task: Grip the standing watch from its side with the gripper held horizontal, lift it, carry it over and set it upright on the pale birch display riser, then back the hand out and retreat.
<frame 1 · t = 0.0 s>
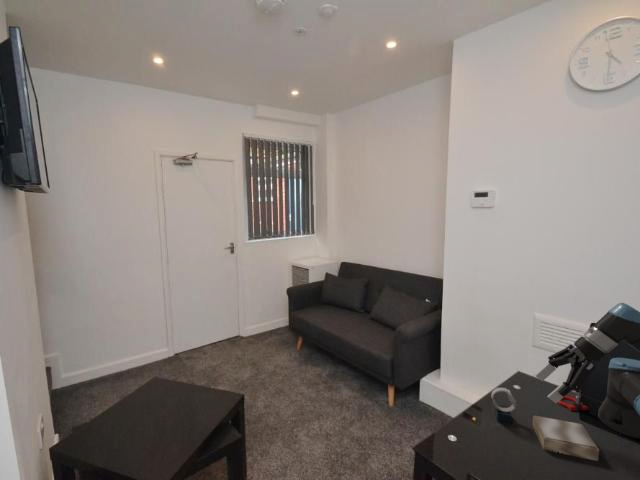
hand: (544, 388, 108), 15 cm above the table, tool tilted 35°, fingers open, 13 cm apart
display riser: (562, 441, 104), on the table
watch: (502, 418, 116), on the table
tow hook: (569, 404, 125), on the table
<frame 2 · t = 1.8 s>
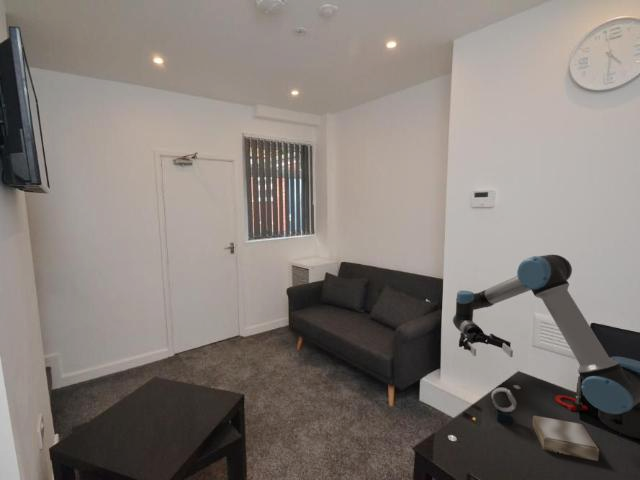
hand: (493, 353, 124), 20 cm above the table, tool horizontal, fingers open, 13 cm apart
nothing on the table moved.
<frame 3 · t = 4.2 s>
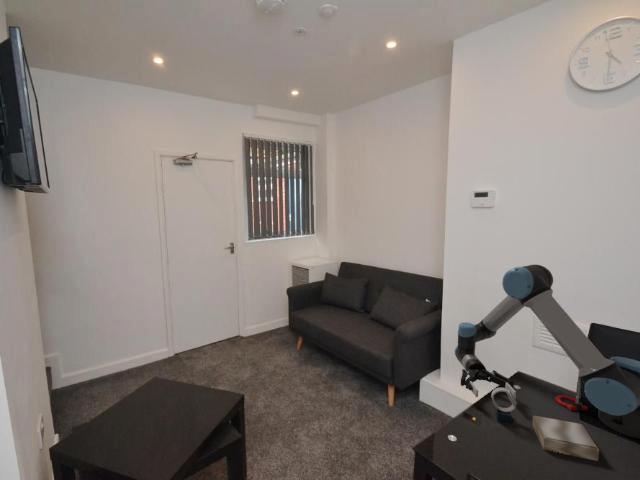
hand: (495, 394, 121), 6 cm above the table, tool horizontal, fingers open, 13 cm apart
nothing on the table moved.
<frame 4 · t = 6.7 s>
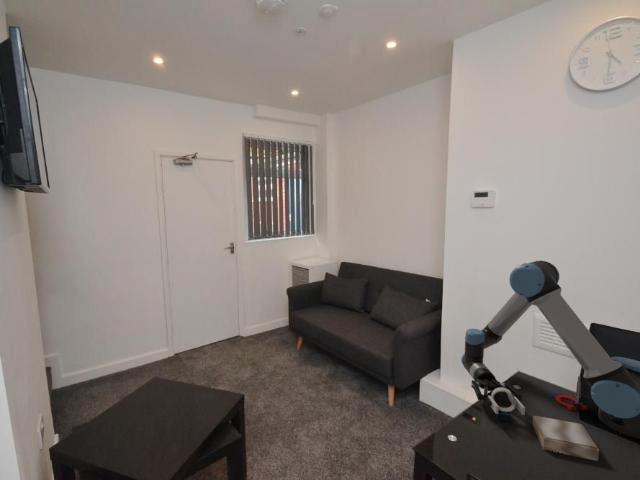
hand: (510, 410, 111), 6 cm above the table, tool horizontal, fingers closed on watch, 8 cm apart
watch: (502, 418, 116), on the table, touching gripper
everything else where it was.
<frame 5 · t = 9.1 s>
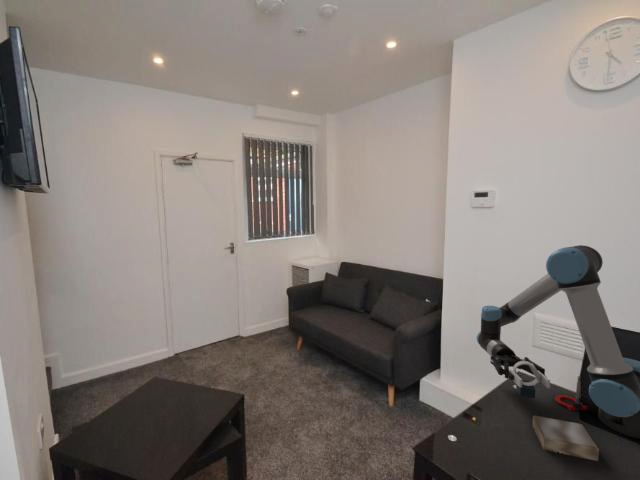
hand: (534, 383, 106), 18 cm above the table, tool horizontal, fingers closed on watch, 8 cm apart
watch: (525, 393, 111), point 12 cm above the table, touching gripper
everything else where it was.
when the fingers open (11 cm above the table, at t = 11.8 s): watch drops 1 cm, resting on display riser.
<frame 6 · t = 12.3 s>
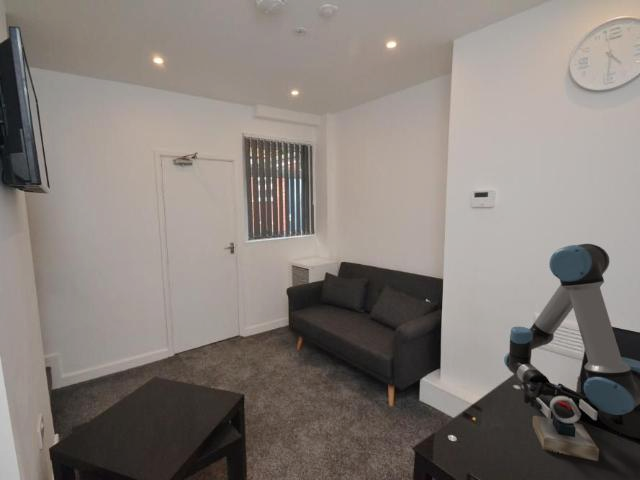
hand: (572, 415, 100), 12 cm above the table, tool horizontal, fingers open, 13 cm apart
watch: (563, 430, 104), point 4 cm above the table, touching display riser
everything else where it was.
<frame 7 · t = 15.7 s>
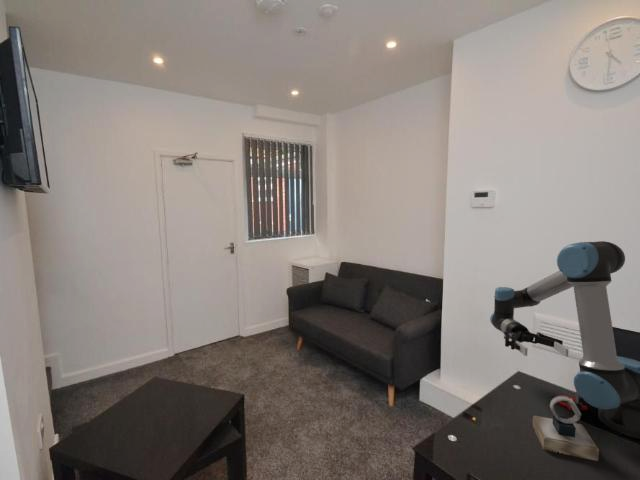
hand: (546, 352, 112), 25 cm above the table, tool horizontal, fingers open, 13 cm apart
nothing on the table moved.
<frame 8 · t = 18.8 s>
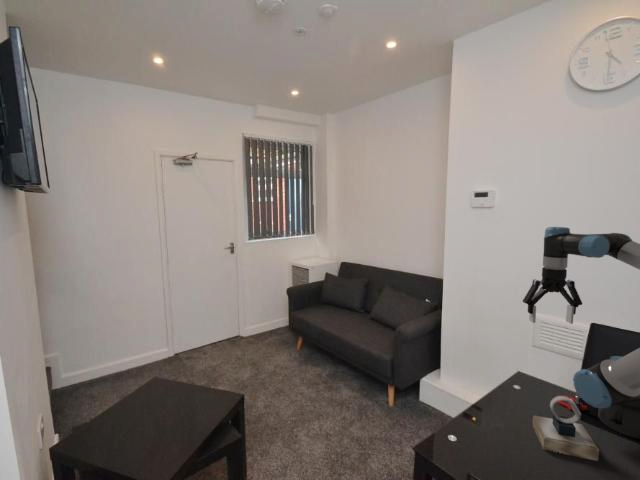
hand: (550, 322, 124), 32 cm above the table, tool pointing down, fingers open, 13 cm apart
nothing on the table moved.
at the end: watch inside the target area on the display riser (0.1 cm from its centre), point 3.8 cm above the display riser's base; watch tilted 0°; the gripper is holding nothing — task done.
